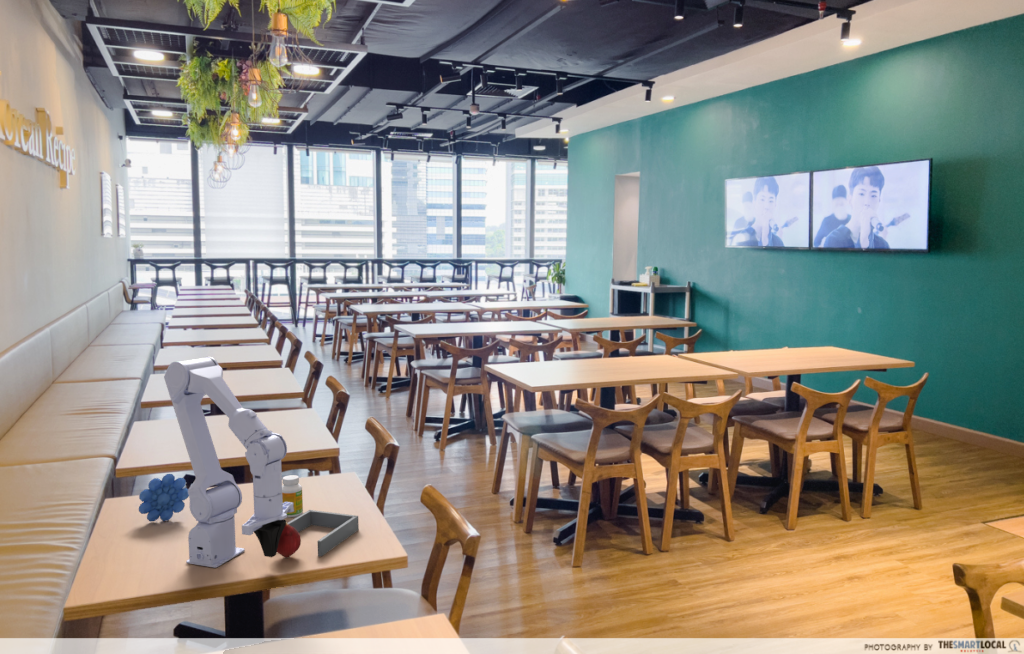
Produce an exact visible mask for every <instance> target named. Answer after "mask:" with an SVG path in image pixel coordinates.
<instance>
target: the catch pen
mask: <svg viewBox="0 0 1024 654" xmlns="http://www.w3.org/2000/svg"><path fill="white" fill-rule="evenodd" d="M287 524H289V525H290V526H292V527H294V528H295V529H296V530H297V531H298V533H299V534H300V531H301V532H302V531H303V530H306V529H308V527H310V526H317V527H325V528H331V529H333V530H331V531H330V532H329V533H327V534H325V535H324V536H323V537H321V538H319V539H318V540H317V557H320V556H321V557H323V556H324V555H326V554H327V553H328V552H330V551H331V550H333V549H335V547H337V546H338V545H339V544H341V543H342V542H344V541H345V540H346V539H348V538H349V537H351V536H352V535H354V534H355V533H356V532H357V531H359V529H360V527H359V515H355V514H345V513H339V512H338V513H337V512H331V511H330V512H329V511H322V510H314V509H309V510H307V511H305V512H304V513H302V514H301V515H299V516H296V517H294V519H291V520H290V521H288V522H287Z"/></svg>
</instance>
